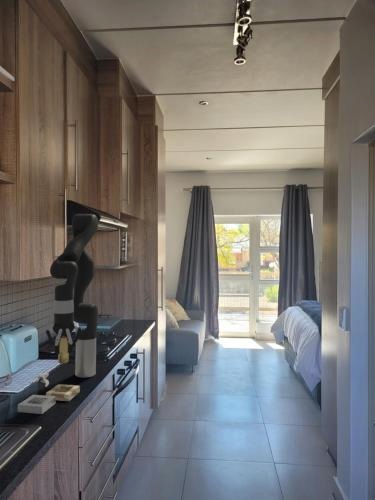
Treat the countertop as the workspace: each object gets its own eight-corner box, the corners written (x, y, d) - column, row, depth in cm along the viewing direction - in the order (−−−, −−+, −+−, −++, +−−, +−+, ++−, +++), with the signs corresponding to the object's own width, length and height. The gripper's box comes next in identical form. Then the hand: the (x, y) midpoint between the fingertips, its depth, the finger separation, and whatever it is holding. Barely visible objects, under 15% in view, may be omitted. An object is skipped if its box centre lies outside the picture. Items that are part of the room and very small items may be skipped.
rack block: (58, 390, 151) (58, 384, 151) (79, 391, 149) (79, 385, 149) (45, 399, 141) (46, 392, 141) (68, 401, 140) (68, 394, 140)
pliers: (22, 384, 153) (33, 372, 168) (22, 388, 153) (33, 376, 168) (46, 384, 154) (55, 372, 169) (46, 387, 154) (55, 375, 169)
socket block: (32, 401, 139) (32, 394, 139) (55, 403, 138) (55, 396, 138) (17, 411, 130) (17, 404, 130) (42, 414, 129) (42, 406, 129)
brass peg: (61, 359, 148) (61, 335, 148) (70, 360, 147) (70, 335, 147) (56, 362, 144) (56, 337, 144) (65, 363, 143) (65, 338, 143)
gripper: (44, 313, 139) (44, 358, 139) (83, 311, 144) (82, 354, 144) (45, 310, 146) (44, 352, 146) (81, 308, 151) (81, 349, 151)
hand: (63, 353), depth 145 cm, fingers closed on brass peg, 4 cm apart
